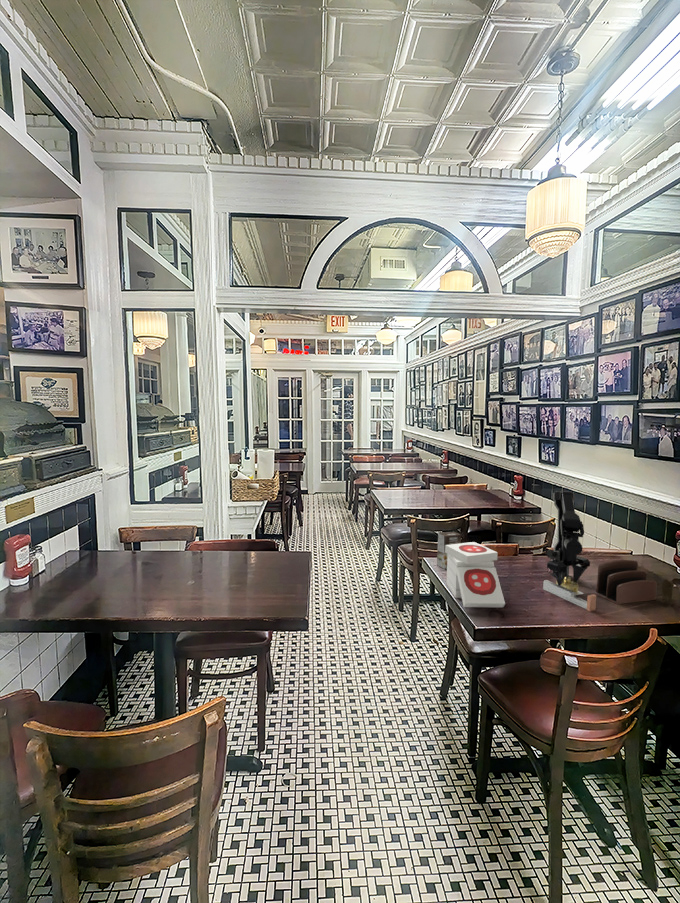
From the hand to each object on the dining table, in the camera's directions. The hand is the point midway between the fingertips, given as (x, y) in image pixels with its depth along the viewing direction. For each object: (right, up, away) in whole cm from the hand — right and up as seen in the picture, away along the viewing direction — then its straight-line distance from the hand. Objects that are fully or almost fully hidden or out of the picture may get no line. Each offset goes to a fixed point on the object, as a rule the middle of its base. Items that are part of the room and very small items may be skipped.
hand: (567, 583), depth 179 cm
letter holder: (+21, -4, -5) cm, 22 cm away
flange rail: (-8, -4, -9) cm, 13 cm away
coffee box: (-43, 0, +29) cm, 51 cm away
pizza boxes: (-41, -4, -5) cm, 42 cm away
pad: (0, -3, 0) cm, 3 cm away
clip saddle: (0, -3, 0) cm, 3 cm away
